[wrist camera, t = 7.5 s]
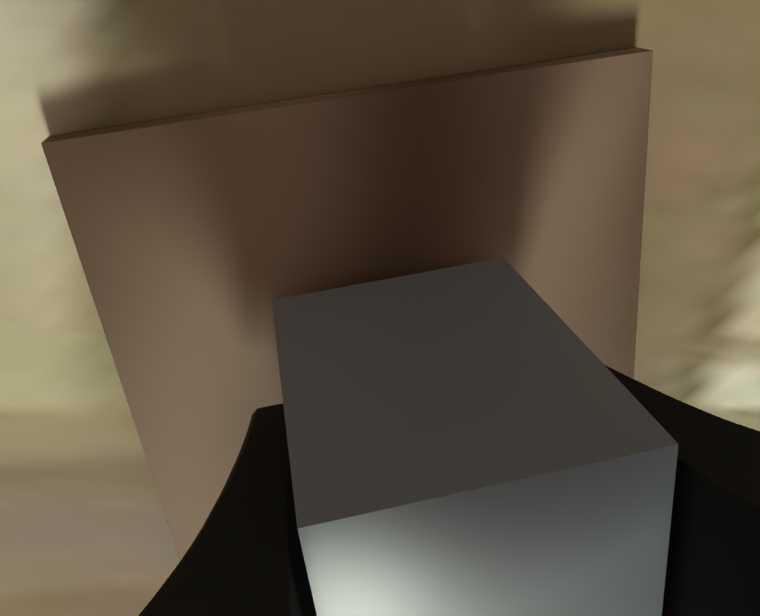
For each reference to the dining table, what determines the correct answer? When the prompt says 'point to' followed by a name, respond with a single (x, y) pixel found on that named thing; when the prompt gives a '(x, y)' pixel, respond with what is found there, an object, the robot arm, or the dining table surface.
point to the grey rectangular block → (467, 454)
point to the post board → (345, 229)
